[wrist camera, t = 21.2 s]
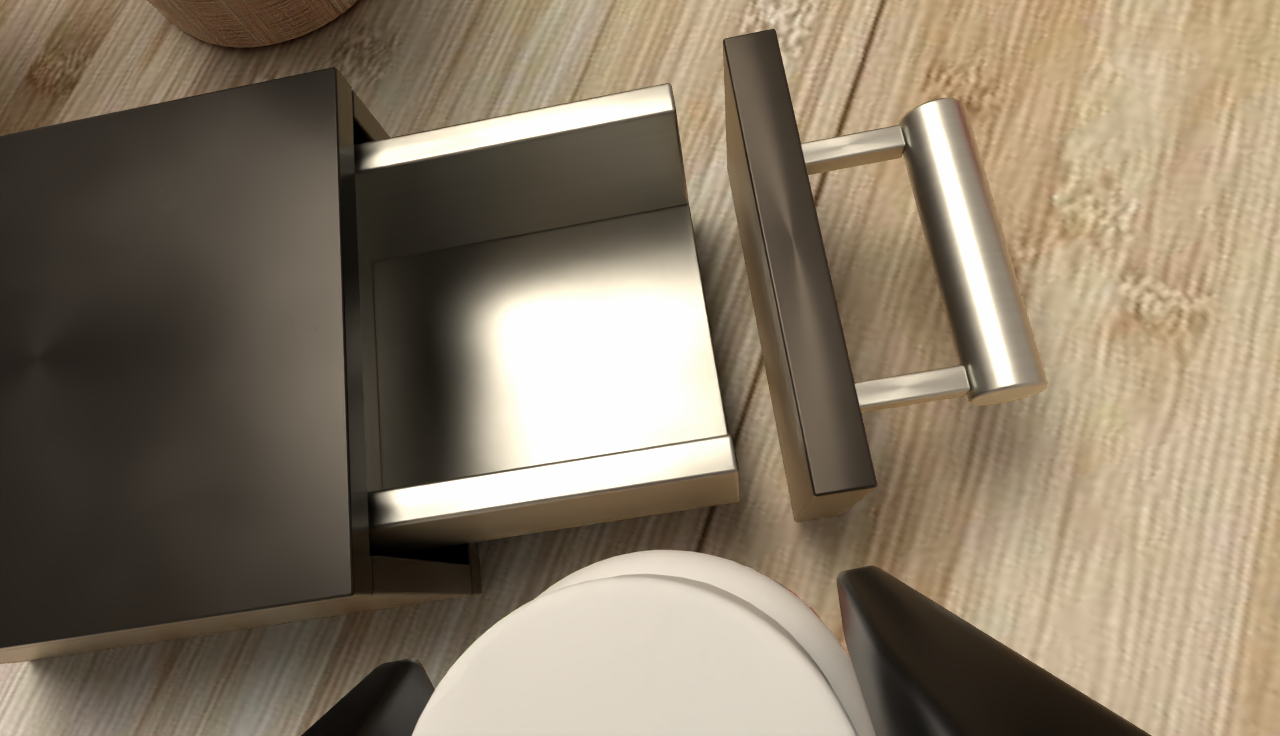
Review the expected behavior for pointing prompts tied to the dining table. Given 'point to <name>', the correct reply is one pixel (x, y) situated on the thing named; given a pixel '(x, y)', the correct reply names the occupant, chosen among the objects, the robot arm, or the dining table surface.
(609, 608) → the pill bottle
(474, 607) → the dining table surface
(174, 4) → the planter
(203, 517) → the drawer cabinet
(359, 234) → the drawer
